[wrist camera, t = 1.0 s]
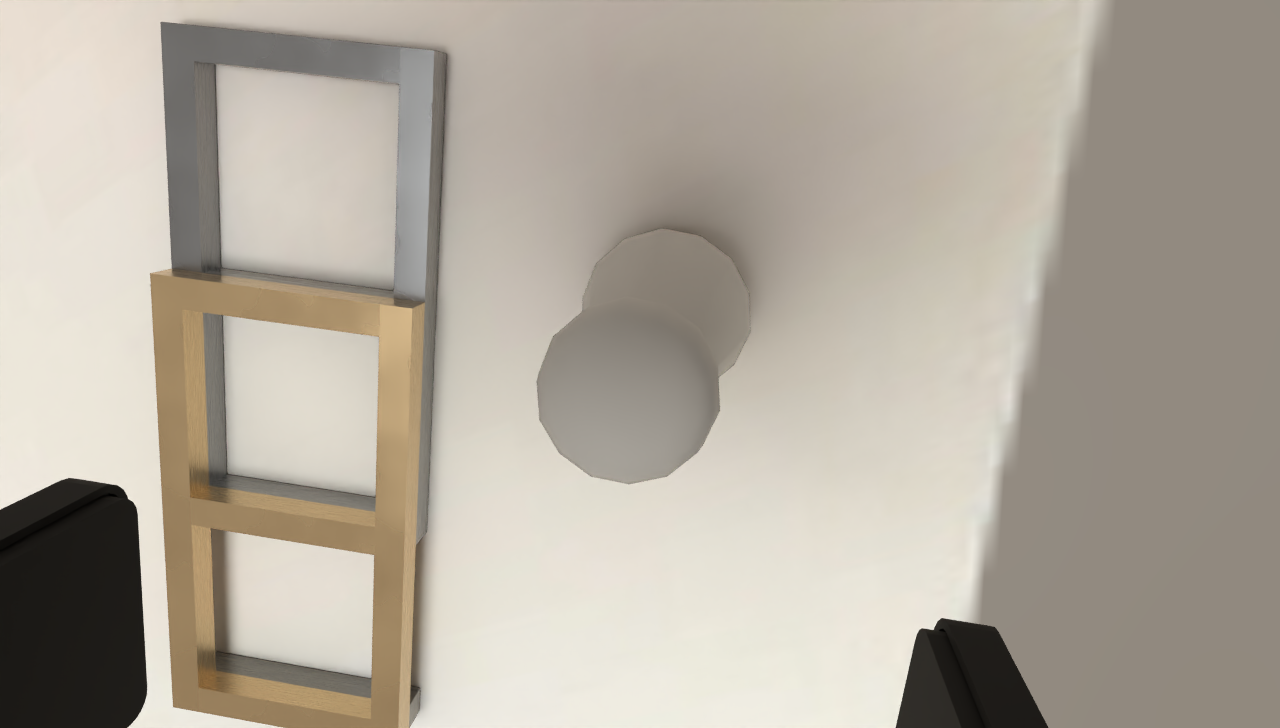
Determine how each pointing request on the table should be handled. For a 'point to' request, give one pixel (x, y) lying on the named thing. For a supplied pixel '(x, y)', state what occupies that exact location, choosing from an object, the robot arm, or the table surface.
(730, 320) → the salt shaker
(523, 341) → the table surface
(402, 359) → the gold rectangular frame
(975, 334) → the table surface
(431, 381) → the grey rectangular frame
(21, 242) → the table surface
